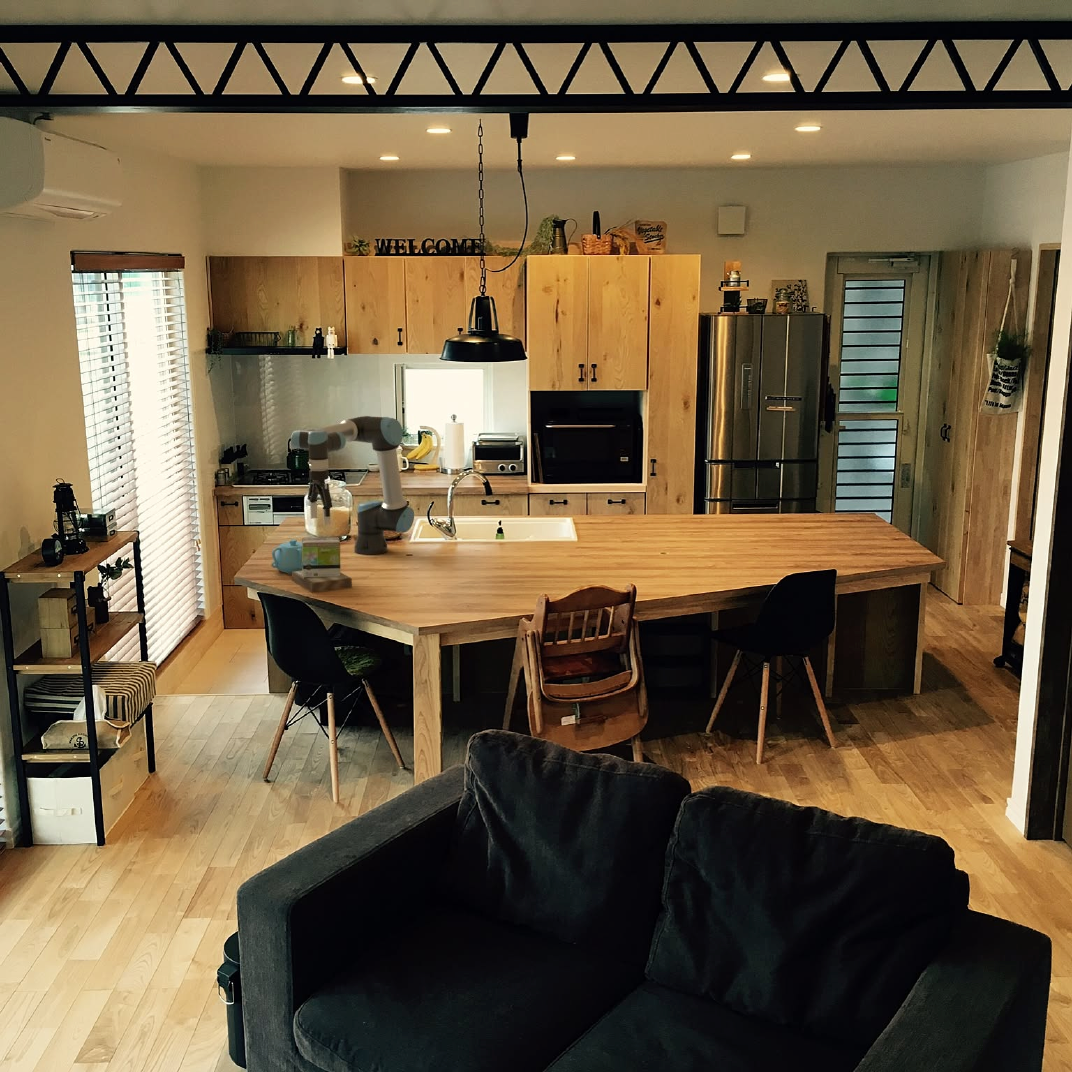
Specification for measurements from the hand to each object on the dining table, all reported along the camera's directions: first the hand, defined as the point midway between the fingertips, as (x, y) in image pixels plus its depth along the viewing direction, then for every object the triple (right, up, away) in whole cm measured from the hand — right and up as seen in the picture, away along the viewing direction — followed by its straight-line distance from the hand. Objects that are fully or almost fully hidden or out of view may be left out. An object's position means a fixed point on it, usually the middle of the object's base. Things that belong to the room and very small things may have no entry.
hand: (320, 521), depth 460 cm
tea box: (0, -22, +4) cm, 22 cm away
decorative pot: (-16, -21, +26) cm, 37 cm away
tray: (0, -26, +5) cm, 26 cm away
